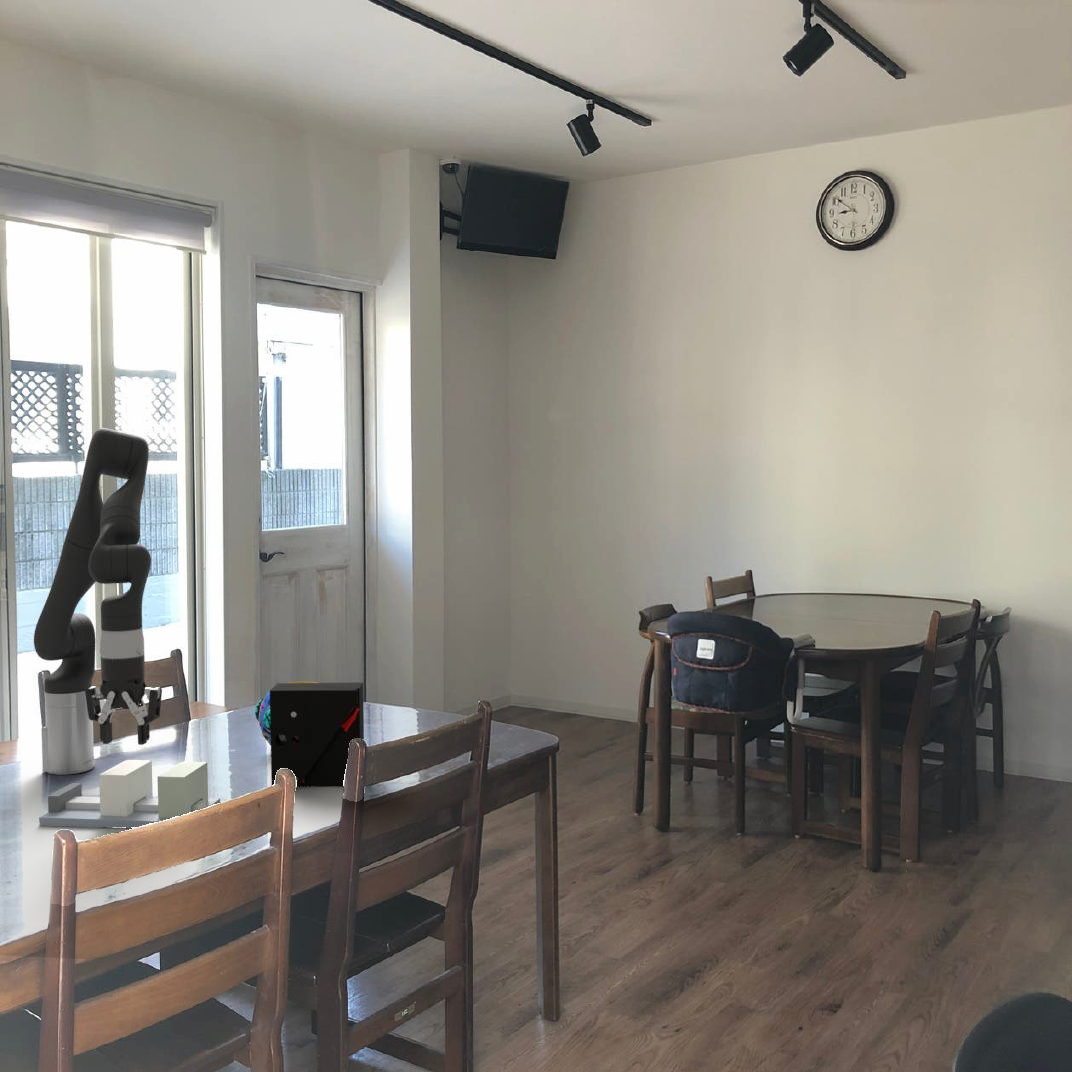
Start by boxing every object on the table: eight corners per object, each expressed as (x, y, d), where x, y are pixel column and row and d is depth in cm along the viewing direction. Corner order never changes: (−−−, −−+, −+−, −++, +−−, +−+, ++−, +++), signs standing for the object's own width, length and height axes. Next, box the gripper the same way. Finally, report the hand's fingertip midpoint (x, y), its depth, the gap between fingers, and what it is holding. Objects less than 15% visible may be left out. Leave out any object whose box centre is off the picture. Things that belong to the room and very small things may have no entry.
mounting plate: (39, 825, 192) (37, 776, 192) (80, 801, 206) (79, 755, 206) (188, 830, 189) (187, 780, 189) (220, 806, 203) (219, 759, 203)
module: (100, 815, 193) (99, 774, 193) (127, 798, 203) (126, 759, 203) (126, 816, 193) (125, 775, 192) (152, 799, 202) (151, 760, 202)
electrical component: (365, 774, 224) (364, 680, 223) (359, 789, 214) (358, 690, 213) (281, 775, 223) (279, 681, 222) (270, 790, 213) (269, 691, 212)
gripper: (169, 650, 199) (171, 739, 200) (95, 649, 200) (98, 737, 202) (150, 657, 191) (152, 749, 192) (74, 656, 193) (77, 747, 194)
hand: (124, 743), depth 197 cm, fingers open, 6 cm apart
